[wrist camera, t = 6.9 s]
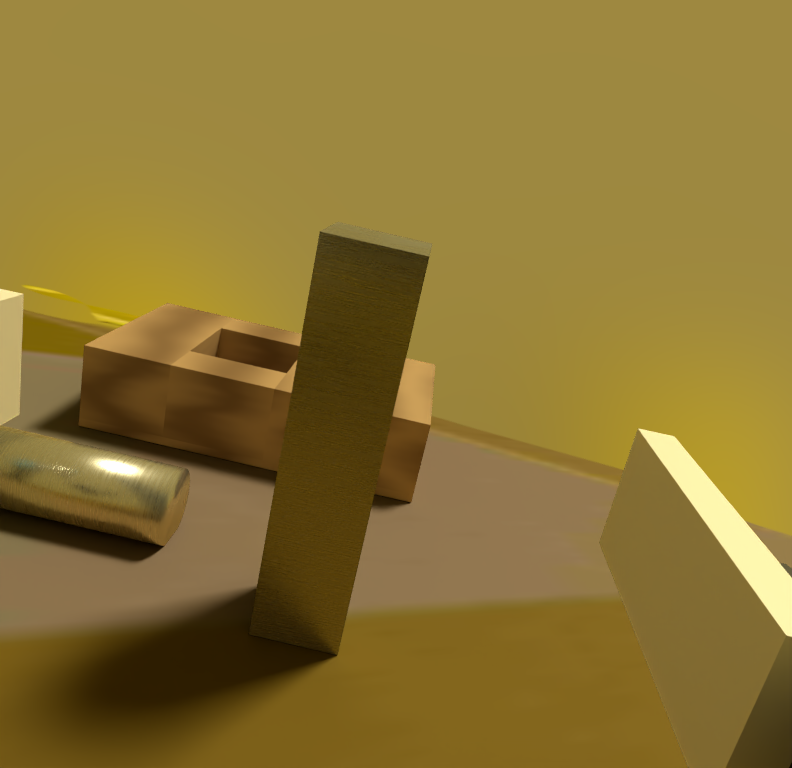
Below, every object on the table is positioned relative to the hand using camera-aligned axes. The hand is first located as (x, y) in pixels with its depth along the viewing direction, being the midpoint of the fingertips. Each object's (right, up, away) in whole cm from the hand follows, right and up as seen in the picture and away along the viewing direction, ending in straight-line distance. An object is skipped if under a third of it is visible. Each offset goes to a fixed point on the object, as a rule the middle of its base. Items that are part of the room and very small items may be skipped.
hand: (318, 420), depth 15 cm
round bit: (-13, -3, +19) cm, 23 cm away
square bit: (-2, -9, +14) cm, 17 cm away
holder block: (-7, -2, +31) cm, 32 cm away
